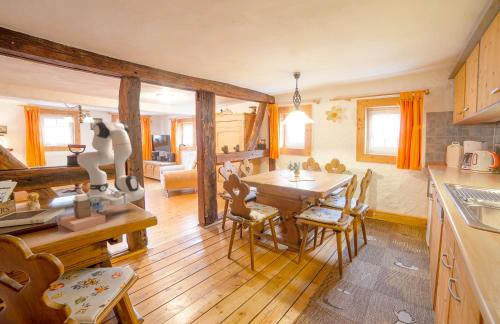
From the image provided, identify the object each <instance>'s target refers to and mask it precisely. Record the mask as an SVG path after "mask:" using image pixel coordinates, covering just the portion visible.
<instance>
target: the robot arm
mask: <svg viewBox="0 0 500 324" xmlns="http://www.w3.org/2000/svg"><path fill="white" fill-rule="evenodd" d="M129 132H130V127H129V126H128V124H127V123H125V122H120V121H119V122H118V121H105V122H103V121H99V122H97V123H96V122H95V124H94V126H93V133H94V134H93V137H92V141H91V146H92V148H93V149H95V150H96V151H86V152H83V153H79V154H78V155H77V158H76V161H77V164H78V165H79V166H80V167H82V168H83V169H85V170H86V171H87V173H88V176H89V181H90V182H89V183H90V184H89V190H88V191H87V192H86V193H85V194H86V195H87V198H88V197H92V196H95V195H100V196H98V198H97V199H95V200H93V203H97V202H101V205H106V206H108V205H110V206H112V207H116V206H121V205H123V206H124V205H128V203H130V202H131V203H133V202H135V201H138V200H141V199H143V197H144V195H145V190H144V188H143V187H142V186H141V185H140V183H139V179H138V177H137V176H135V175H133V174H129V175H126V169H125V168H126V167H125V164H126V161H127V160H128V159H129V157H130V156H131V154H132V152H133V151H132V149H133V148H132V143H131V140H130V137H129ZM111 143H112V149H113V152H112V151H111V150H110V146H111ZM108 165H114V167H113V168H114V175H115V177H114V179H115V180H114V182H113V183H114V188H115V189H116V190H117V191H115V192H114V193H113V194H112V192H111V188H110V187H109V183H108V176H107V172H105V170H102V169H100V168H99V167H100V166H101V167H102V166H108Z"/></svg>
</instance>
